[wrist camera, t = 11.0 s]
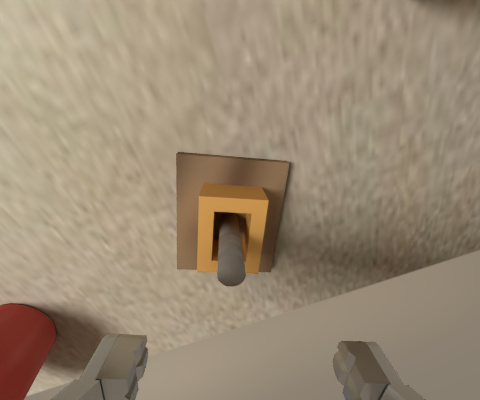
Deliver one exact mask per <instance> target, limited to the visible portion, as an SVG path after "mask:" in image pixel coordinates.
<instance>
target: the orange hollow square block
mask: <svg viewBox="0 0 480 400" xmlns="http://www.w3.org/2000/svg"><path fill="white" fill-rule="evenodd" d="M268 202H269V200H268V198H267V196H266V194H265V193H264V191H263V189H262V187H252V186H237V185H222V184H207V183H203V185H202V188H201V191H200V194H199V210H198V249H197V272H218V250H219V240H213V237H214V218H215V212H232V213H246V218H245V227H244V236H243V241H241V243H242V250H243V258H244V265H245V272H246V273H252V274H258V271H259V264H260V257H261V250H262V243H263V236H264V230H265V223H266V216H267V209H268Z"/></svg>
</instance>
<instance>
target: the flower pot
mask: <svg viewBox="0 0 480 400" xmlns="http://www.w3.org/2000/svg"><path fill="white" fill-rule="evenodd" d="M55 339H56V328H55V326H54V324H53V322H52V321H51V320H50V318H49V317H47V316H46V315H45V314H43V313H42V312H40V311H38V310H36V309H34V308H32V307H28V306H24V305H18V304H7V305H1V306H0V400H24V398H25V396H26V395H27V393H28V391H29V389H30V387H31V385H32V383H33V382H34V380H35V378H36V376H37V374H38V372H39V370H40V368H41V366H42V365H43V363H44V361H45V359H46V357H47V355H48V353H49V351H50V349H51V347H52V346H53V344H54V342H55Z"/></svg>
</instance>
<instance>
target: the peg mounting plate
mask: <svg viewBox="0 0 480 400" xmlns="http://www.w3.org/2000/svg"><path fill="white" fill-rule="evenodd" d="M289 164H290V163H289V162H287V161H279V160H267V159H255V158H243V157H232V156H220V155H208V154H196V153H184V152H178V153H177V154H176V166H177V269H190V270H197V249H198V210H199V194H200V191H201V188H202V185H203V183H207V184H222V185H237V186H252V187H262V189H263V191H264V193H265V194H266V196H267V198H268V200H269V202H268V209H267V216H266V223H265V230H264V236H263V243H262V250H261V257H260V264H259V271H258V272H271V268H272V262H273V256H274V250H275V245H276V239H277V233H278V227H279V222H280V216H281V210H282V204H283V198H284V193H285V187H286V181H287V175H288V169H289ZM245 218H246V213H232V212H215V218H214V237H213V240H219V250H218V272H217V277H218V280H219V281H220V282H221V283H222V284H223V285H225V286H236V285H239V284H240V283H242V282H243V281H244V279H245V276H246V272H245V265H244V258H243V250H242V243H241V241H243V236H244V227H245Z"/></svg>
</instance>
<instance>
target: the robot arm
mask: <svg viewBox="0 0 480 400" xmlns="http://www.w3.org/2000/svg"><path fill="white" fill-rule="evenodd" d="M146 343H147V336H146V335H127V334H106V335H105V336H104V337H103V339H102V340H101V342H100V344H99V346H98V347H97V349H96V351H95V352H94V354H93V356H92V358H91V359H90V361H89V363H88V365H87V366H86V368H85V370H84V372H83V373H82V375H81V377H80V379H79V380H74V381H72V382H71V383H70V384H69V385H68V386H66V387H65V388H64V389H63V390H62V391H60V392H59V393H58V394H57V395H55V396H54V397H53V398H52V399H51V400H135V398H136V395H137V392H138V381H139V380H140V379H141V378H142V377H143V374H144V371H145V368H146V363H147V359H148V349H147V348H146V347H145V346H146ZM338 349H339V351H338V352H336V353H335V354H334V358H333V367H334V371H335V375H336V377H337V380H338V381H339V382H340V383H341V384H342V385H343V386H344V388H343V394H344V397H345V399H346V400H426V399H424V398H423V397H422V396H421V395H420V394H418V393H417V392H416V391H415V390H414V389H412V388H411V387H410V386H409V385H404V383H403V382H402V380H401V379H400V377H399V375H398V374H397V372H396V371H395V369H394V368H393V366H392V365H391V363H390V362H389V360H388V359H387V357H386V355H385V354H384V353H383V351H382V350H381V348H380V346H379V345H378V344H377V343H376V342H362V341H341V342H339V344H338Z"/></svg>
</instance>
